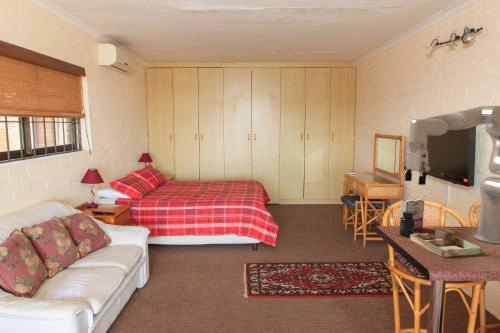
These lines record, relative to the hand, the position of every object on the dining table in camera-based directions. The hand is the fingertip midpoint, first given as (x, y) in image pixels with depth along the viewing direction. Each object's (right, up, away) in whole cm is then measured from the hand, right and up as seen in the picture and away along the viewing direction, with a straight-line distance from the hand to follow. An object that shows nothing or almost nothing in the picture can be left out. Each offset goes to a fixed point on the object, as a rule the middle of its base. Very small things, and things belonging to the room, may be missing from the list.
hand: (414, 182), depth 166 cm
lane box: (+14, -30, +1) cm, 33 cm away
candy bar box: (+11, -27, +28) cm, 40 cm away
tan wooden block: (+17, -30, +7) cm, 35 cm away
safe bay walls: (+16, -31, -5) cm, 35 cm away
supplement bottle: (+4, -28, +17) cm, 33 cm away
